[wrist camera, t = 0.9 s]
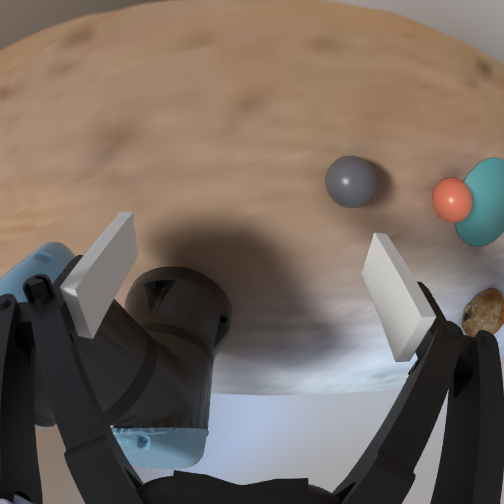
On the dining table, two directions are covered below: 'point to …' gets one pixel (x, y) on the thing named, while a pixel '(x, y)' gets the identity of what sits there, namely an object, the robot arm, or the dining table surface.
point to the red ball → (452, 200)
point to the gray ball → (351, 181)
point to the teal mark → (484, 203)
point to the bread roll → (484, 313)
